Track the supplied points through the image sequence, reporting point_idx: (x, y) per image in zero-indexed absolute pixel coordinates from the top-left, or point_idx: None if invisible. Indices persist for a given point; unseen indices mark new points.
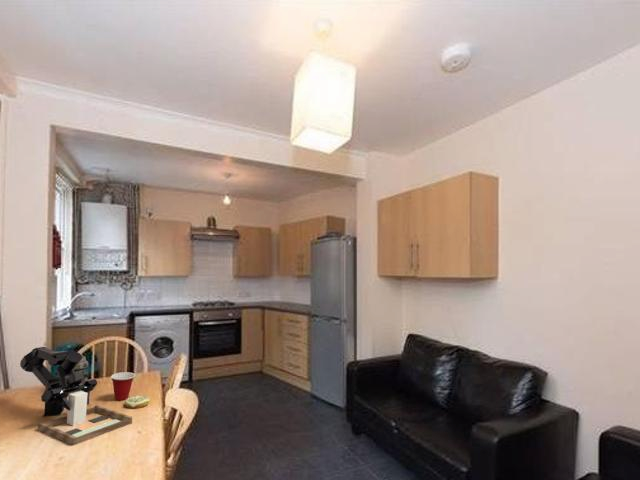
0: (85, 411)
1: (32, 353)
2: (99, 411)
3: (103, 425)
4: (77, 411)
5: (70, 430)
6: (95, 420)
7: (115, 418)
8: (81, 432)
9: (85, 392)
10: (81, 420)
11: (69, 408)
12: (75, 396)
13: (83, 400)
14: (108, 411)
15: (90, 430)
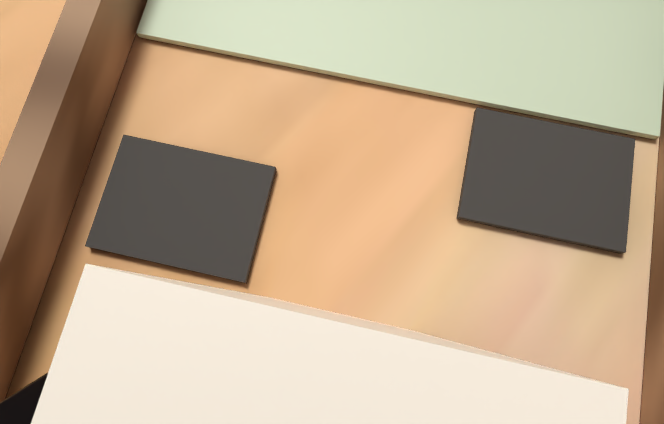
0: (260, 296)
1: None
2: (2, 357)
3: (309, 21)
4: (389, 326)
5: (524, 224)
6: (227, 200)
7: (124, 50)
8: (510, 80)
9: (56, 411)
10: (317, 308)
11: None
12: (605, 388)
13: (279, 303)
14: (48, 156)
15: (443, 40)
